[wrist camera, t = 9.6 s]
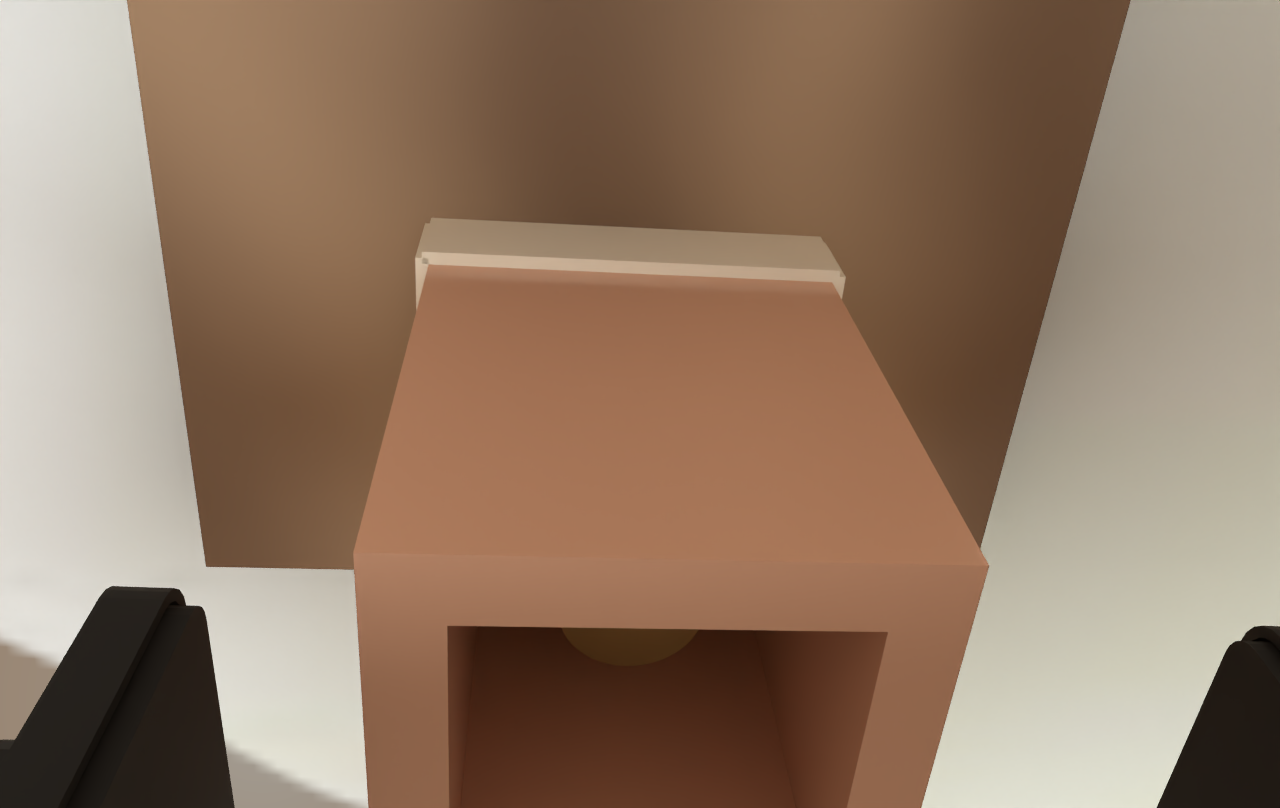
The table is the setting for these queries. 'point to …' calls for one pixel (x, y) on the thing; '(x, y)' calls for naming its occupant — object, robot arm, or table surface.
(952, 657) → the sleeve
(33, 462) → the table surface
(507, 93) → the pin board
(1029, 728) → the table surface
